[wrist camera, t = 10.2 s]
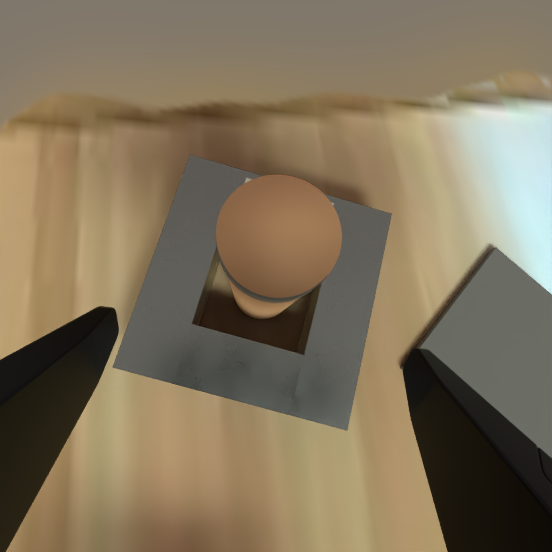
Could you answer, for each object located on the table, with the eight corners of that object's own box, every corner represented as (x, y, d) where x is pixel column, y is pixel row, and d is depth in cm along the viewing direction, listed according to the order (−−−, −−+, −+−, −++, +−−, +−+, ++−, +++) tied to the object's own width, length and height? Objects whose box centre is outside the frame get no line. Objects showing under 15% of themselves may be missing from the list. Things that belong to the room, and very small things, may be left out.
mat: (534, 489, 22) (541, 492, 21) (400, 368, 23) (403, 368, 22) (615, 354, 24) (622, 355, 24) (491, 249, 25) (496, 247, 24)
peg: (298, 308, 23) (362, 272, 10) (244, 328, 22) (238, 316, 9) (279, 256, 23) (316, 159, 11) (225, 273, 23) (197, 193, 10)
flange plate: (333, 417, 22) (348, 431, 18) (131, 363, 21) (111, 367, 18) (374, 228, 24) (393, 212, 21) (197, 177, 24) (189, 152, 21)
